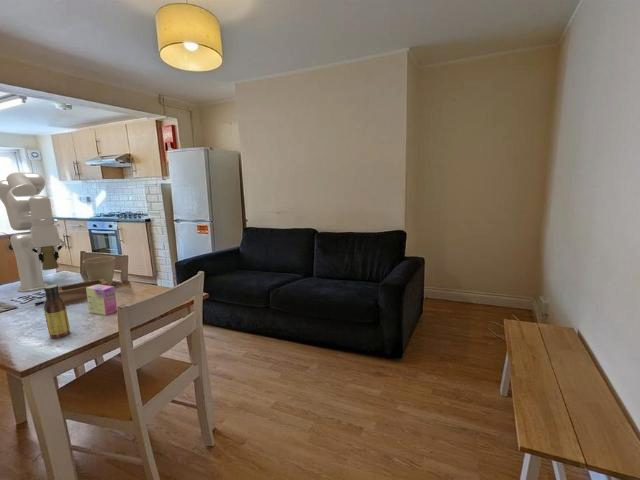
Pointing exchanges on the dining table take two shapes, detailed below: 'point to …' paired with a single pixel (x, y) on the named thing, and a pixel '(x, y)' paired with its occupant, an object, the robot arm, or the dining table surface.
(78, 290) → the walnut well caddy
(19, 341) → the dining table surface
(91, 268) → the plant pot
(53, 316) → the sauce bottle
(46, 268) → the olive brown gourd shape
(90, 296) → the box
